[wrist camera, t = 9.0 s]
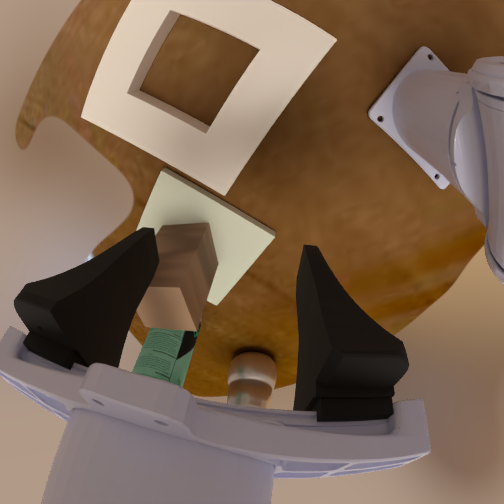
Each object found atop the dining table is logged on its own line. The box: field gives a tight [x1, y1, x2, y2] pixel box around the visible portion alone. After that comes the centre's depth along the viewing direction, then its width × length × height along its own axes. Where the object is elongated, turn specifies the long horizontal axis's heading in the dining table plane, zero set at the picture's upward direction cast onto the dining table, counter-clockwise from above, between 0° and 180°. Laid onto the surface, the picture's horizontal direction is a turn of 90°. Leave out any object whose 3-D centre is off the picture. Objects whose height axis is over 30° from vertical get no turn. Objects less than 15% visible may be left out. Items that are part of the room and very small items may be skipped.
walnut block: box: [136, 223, 218, 331], centre depth 22 cm, size 4×4×8 cm
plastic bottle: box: [227, 352, 277, 409], centre depth 29 cm, size 6×7×20 cm
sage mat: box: [136, 167, 276, 306], centre depth 26 cm, size 11×11×1 cm
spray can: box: [132, 317, 202, 387], centre depth 25 cm, size 6×6×20 cm
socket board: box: [81, 0, 337, 196], centre depth 16 cm, size 14×14×2 cm
